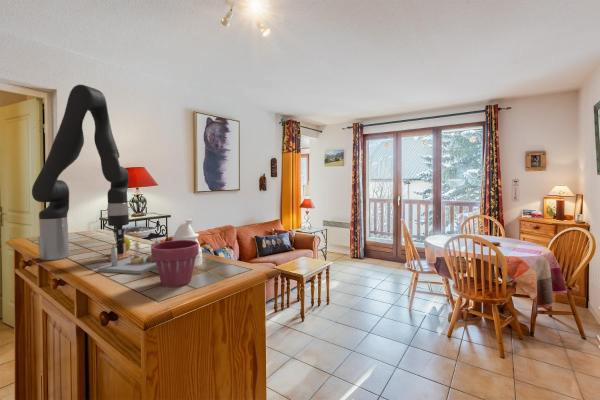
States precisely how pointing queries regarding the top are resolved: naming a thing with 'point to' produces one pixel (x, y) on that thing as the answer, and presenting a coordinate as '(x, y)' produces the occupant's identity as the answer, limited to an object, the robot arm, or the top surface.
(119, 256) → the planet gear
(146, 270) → the carrier
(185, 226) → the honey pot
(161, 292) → the top surface
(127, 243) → the lemon
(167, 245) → the plant pot
